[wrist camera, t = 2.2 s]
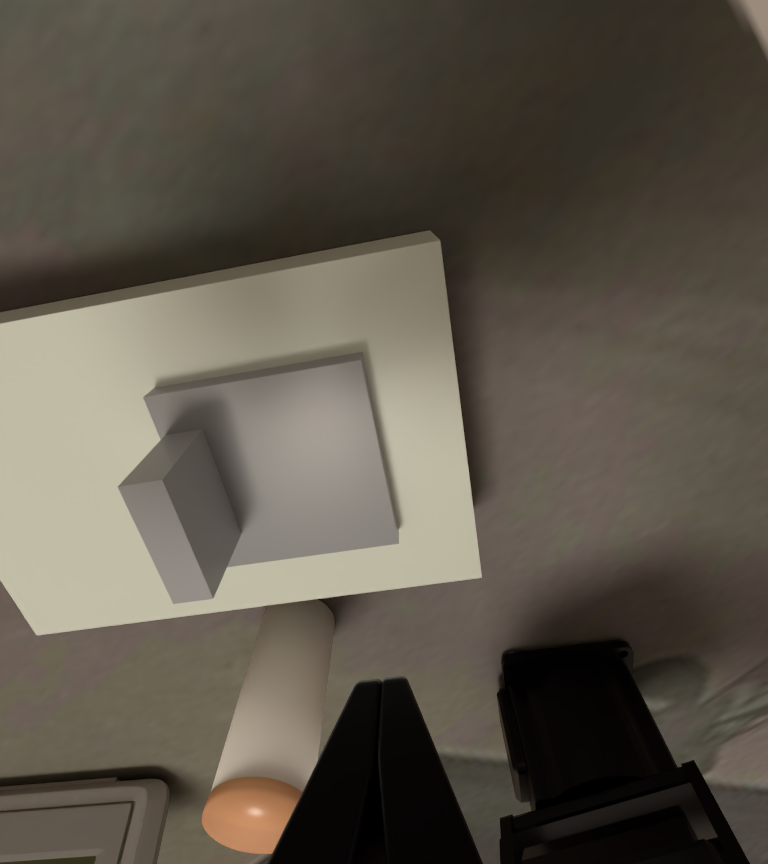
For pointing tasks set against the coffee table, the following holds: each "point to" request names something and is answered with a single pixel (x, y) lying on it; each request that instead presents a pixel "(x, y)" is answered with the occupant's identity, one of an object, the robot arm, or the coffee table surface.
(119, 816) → the digital clock
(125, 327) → the socket block
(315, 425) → the shutter
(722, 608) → the coffee table surface
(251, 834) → the plug
